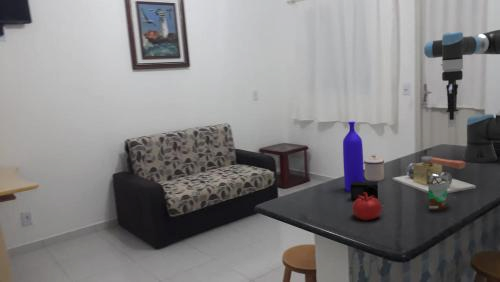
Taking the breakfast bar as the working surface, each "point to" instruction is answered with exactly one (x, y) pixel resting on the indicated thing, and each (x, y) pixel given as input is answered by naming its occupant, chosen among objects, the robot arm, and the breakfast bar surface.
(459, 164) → the lever
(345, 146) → the bottle
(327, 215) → the breakfast bar surface
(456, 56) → the robot arm
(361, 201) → the pomegranate
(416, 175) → the valve body
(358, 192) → the digital camera
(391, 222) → the breakfast bar surface
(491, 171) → the breakfast bar surface
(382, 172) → the teacup with lid
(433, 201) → the food container
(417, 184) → the mounting board
